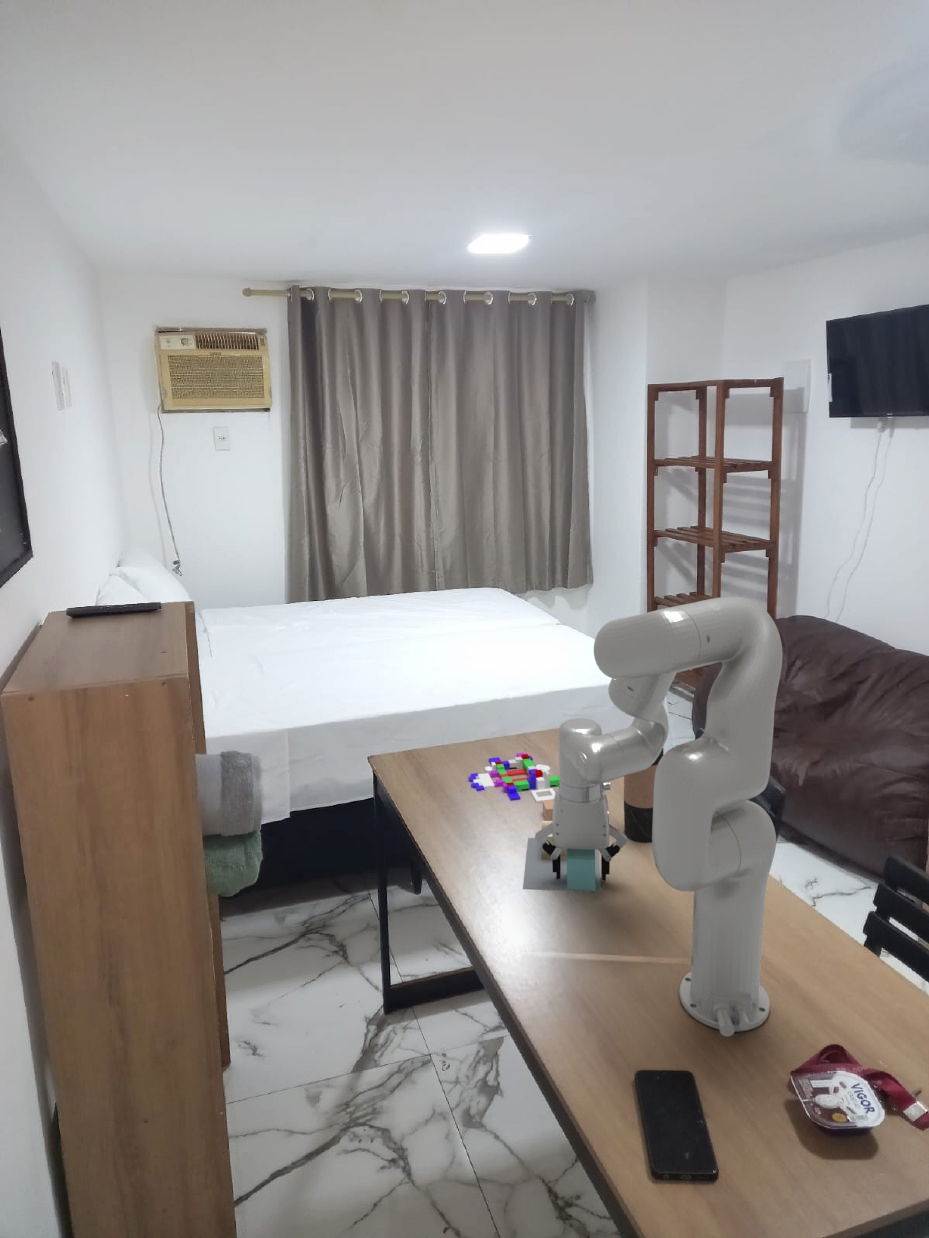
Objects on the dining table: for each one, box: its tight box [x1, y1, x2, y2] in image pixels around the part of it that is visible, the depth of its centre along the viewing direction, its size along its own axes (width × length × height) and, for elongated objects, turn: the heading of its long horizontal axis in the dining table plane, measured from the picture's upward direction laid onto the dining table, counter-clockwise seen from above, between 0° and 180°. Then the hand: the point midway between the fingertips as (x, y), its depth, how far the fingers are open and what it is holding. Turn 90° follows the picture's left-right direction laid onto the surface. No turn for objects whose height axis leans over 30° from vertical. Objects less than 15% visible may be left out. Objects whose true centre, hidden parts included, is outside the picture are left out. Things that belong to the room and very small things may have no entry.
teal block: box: [567, 849, 595, 890], centre depth 147 cm, size 5×5×6 cm
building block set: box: [467, 752, 559, 804], centre depth 191 cm, size 25×20×4 cm
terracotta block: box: [542, 800, 554, 821], centre depth 172 cm, size 4×4×4 cm
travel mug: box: [623, 747, 664, 844], centre depth 161 cm, size 8×8×20 cm
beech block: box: [541, 820, 567, 860], centre depth 158 cm, size 6×6×5 cm
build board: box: [522, 837, 602, 893], centre depth 154 cm, size 18×14×1 cm
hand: (580, 875), depth 148 cm, fingers open, 7 cm apart
